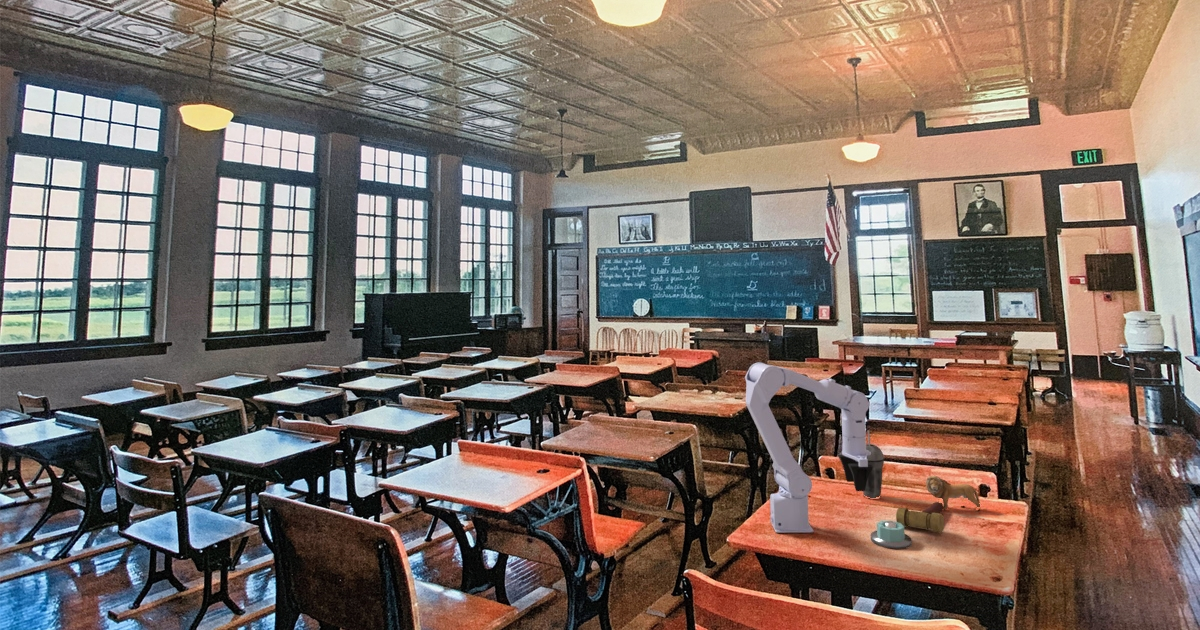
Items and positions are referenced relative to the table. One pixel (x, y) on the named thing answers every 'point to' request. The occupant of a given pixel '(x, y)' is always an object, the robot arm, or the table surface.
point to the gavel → (922, 518)
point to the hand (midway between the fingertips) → (855, 485)
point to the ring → (890, 532)
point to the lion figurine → (950, 490)
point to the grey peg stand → (892, 545)
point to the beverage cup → (874, 470)
